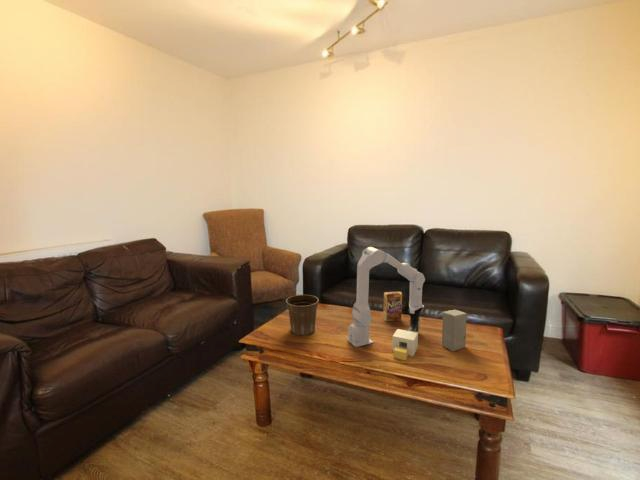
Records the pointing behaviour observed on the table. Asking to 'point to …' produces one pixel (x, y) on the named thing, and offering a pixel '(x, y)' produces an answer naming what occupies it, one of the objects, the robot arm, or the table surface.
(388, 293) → the candy box
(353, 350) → the table surface
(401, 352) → the block
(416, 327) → the shaft
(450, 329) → the skincare box
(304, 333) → the plant pot
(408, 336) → the bearing block
